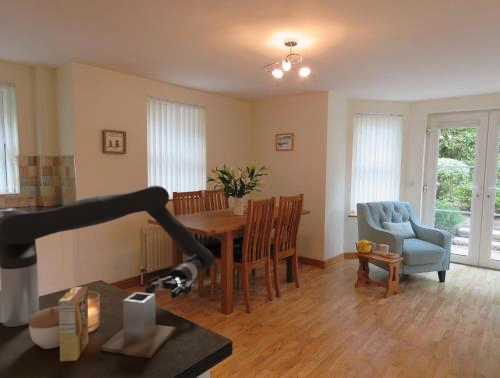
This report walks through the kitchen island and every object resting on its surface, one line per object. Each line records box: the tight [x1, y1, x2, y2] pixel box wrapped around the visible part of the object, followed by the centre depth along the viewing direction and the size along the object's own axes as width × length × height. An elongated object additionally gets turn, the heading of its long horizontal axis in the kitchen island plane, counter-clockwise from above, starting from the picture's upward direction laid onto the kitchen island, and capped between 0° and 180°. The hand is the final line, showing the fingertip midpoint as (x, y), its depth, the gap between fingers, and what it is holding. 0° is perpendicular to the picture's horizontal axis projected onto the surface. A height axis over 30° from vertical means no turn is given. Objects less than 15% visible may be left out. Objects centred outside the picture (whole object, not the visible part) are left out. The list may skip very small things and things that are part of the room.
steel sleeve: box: [122, 291, 157, 344], centre depth 90 cm, size 6×6×11 cm
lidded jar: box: [28, 305, 60, 350], centre depth 88 cm, size 11×11×9 cm
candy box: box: [58, 286, 89, 363], centre depth 84 cm, size 9×4×15 cm, turn 9°
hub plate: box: [100, 324, 177, 359], centre depth 90 cm, size 14×14×4 cm
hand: (159, 293), depth 101 cm, fingers open, 8 cm apart
